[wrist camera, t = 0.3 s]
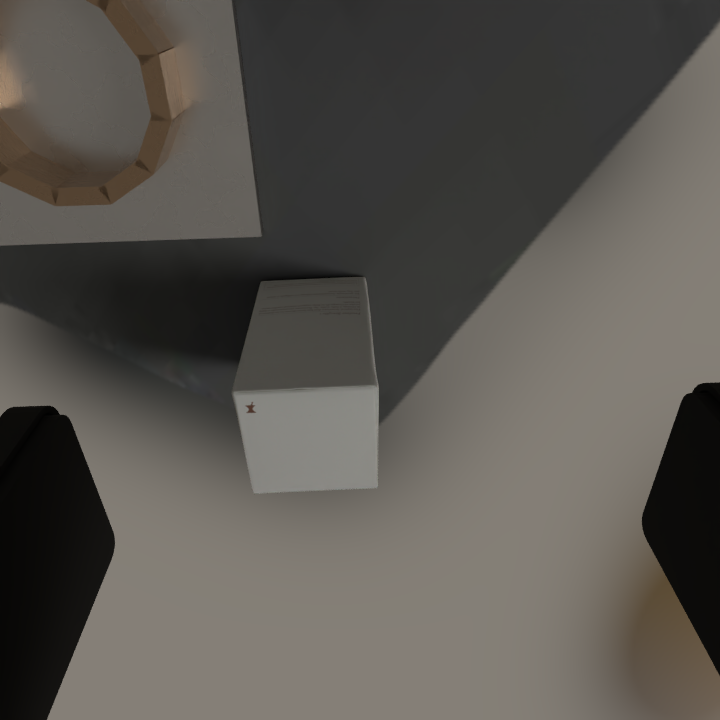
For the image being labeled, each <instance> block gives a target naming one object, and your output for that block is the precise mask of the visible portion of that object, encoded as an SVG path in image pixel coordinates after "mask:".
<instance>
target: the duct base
mask: <svg viewBox="0 0 720 720" xmlns="http://www.w3.org/2000/svg"><path fill="white" fill-rule="evenodd" d="M263 231H264V230H263V222H262V214H261V206H260V198H259V190H258V182H257V174H256V166H255V158H254V150H253V142H252V134H251V126H250V118H249V110H248V102H247V94H246V86H245V78H244V70H243V62H242V54H241V46H240V38H239V30H238V22H237V14H236V5H235V0H0V245H29V244H58V243H88V242H117V241H146V240H176V239H205V238H235V237H262V234H263Z"/></svg>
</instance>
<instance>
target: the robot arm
mask: <svg viewBox="0 0 720 720" xmlns="http://www.w3.org/2000/svg"><path fill="white" fill-rule="evenodd" d="M642 527H643V531H644V535H645V537H646V539H647V541H648V543H649V545H650V547H651V549H652V551H653V552H654V554H655V556H656V558H657V560H658V562H659V564H660V566H661V567H662V569H663V571H664V573H665V575H666V577H667V578H668V580H669V582H670V584H671V586H672V588H673V590H674V591H675V593H676V595H677V597H678V599H679V601H680V603H681V605H682V606H683V608H684V610H685V612H686V614H687V615H688V618H689V619H690V621H691V623H692V625H693V627H694V629H695V630H696V632H697V634H698V636H699V638H700V640H701V642H702V644H703V645H704V647H705V649H706V650H707V653H708V655H709V656H710V658H711V660H712V662H713V664H714V666H715V668H716V670H717V671H718V673H719V675H720V383H702V384H699V385H698V386H697V387H696V388H694V390H693V392H692V393H689V394H686V395H685V396H684V397H683V400H682V402H681V404H680V407H679V410H678V413H677V416H676V419H675V422H674V425H673V427H672V430H671V433H670V436H669V439H668V442H667V445H666V448H665V451H664V454H663V457H662V460H661V462H660V466H659V469H658V471H657V474H656V477H655V480H654V483H653V486H652V489H651V491H650V494H649V497H648V500H647V503H646V506H645V509H644V512H643V516H642ZM114 547H115V538H114V533H113V530H112V527H111V525H110V522H109V520H108V517H107V515H106V512H105V509H104V506H103V504H102V501H101V499H100V496H99V494H98V491H97V488H96V486H95V483H94V480H93V478H92V475H91V473H90V470H89V467H88V465H87V462H86V460H85V457H84V454H83V452H82V449H81V447H80V444H79V442H78V439H77V436H76V434H75V431H74V429H73V426H72V423H71V421H70V419H69V418H68V417H67V416H65V415H60V414H59V413H58V411H57V410H56V409H55V408H54V407H51V406H28V407H12V408H9V409H7V410H6V411H5V412H4V413H3V414H2V415H1V417H0V720H47V717H48V715H49V713H50V710H51V708H52V705H53V703H54V700H55V698H56V695H57V693H58V690H59V688H60V685H61V683H62V680H63V678H64V676H65V673H66V671H67V668H68V666H69V663H70V661H71V658H72V656H73V653H74V650H75V648H76V646H77V643H78V641H79V638H80V636H81V633H82V631H83V629H84V626H85V624H86V621H87V619H88V616H89V614H90V611H91V609H92V606H93V604H94V601H95V599H96V596H97V594H98V591H99V589H100V586H101V584H102V582H103V579H104V577H105V574H106V571H107V569H108V567H109V564H110V562H111V559H112V556H113V553H114Z"/></svg>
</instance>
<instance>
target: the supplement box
mask: <svg viewBox="0 0 720 720" xmlns="http://www.w3.org/2000/svg"><path fill="white" fill-rule="evenodd" d="M232 396H233V401H234V405H235V410H236V414H237V419H238V423H239V428H240V433H241V437H242V442H243V446H244V451H245V456H246V460H247V466H248V471H249V476H250V481H251V486H252V491H253V493H255V494H259V493H276V492H297V491H320V490H340V489H341V490H342V489H365V488H377V487H378V411H379V386H378V381H377V376H376V369H375V360H374V350H373V340H372V328H371V318H370V308H369V299H368V291H367V283H366V279H365V277H341V278H320V279H298V280H276V281H261V282H260V286H259V289H258V293H257V297H256V301H255V305H254V309H253V313H252V317H251V320H250V324H249V328H248V332H247V336H246V339H245V343H244V347H243V351H242V355H241V358H240V362H239V366H238V370H237V374H236V377H235V381H234V385H233V388H232Z"/></svg>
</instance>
